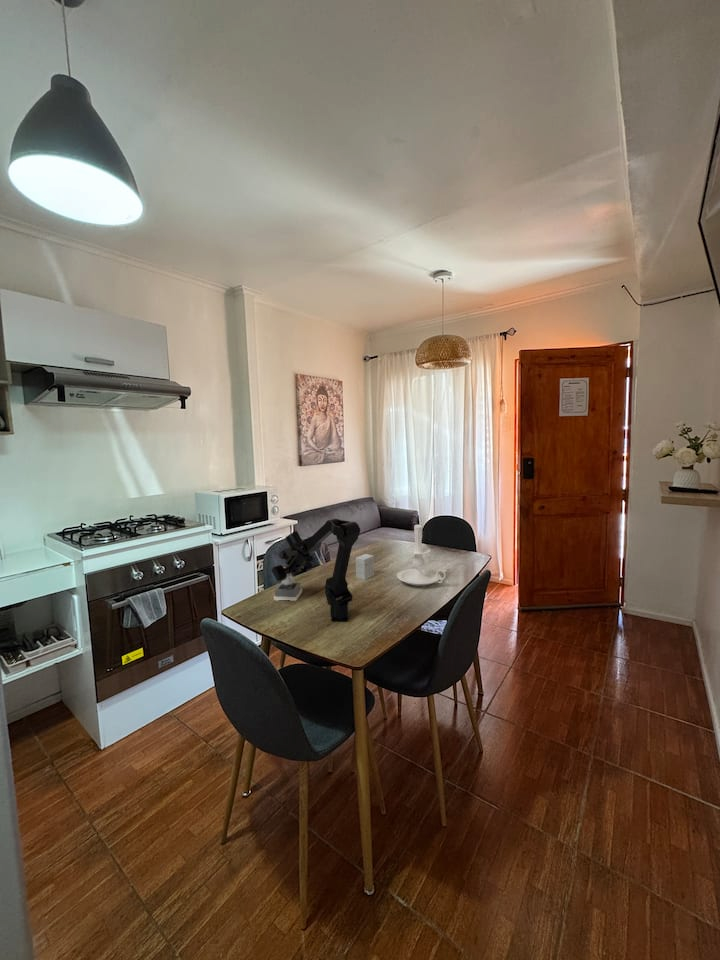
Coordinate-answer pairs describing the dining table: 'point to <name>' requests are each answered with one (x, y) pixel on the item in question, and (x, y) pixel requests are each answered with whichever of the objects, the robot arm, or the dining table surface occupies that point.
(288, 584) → the black-capped silver cylinder
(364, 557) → the small box
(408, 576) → the candlestick
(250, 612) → the dining table surface
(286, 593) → the holder
